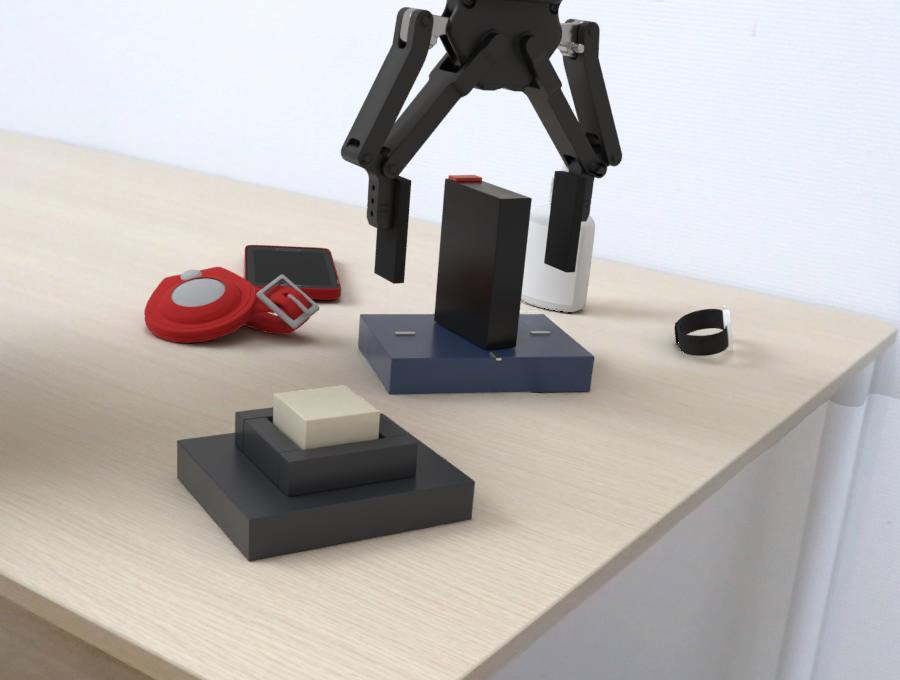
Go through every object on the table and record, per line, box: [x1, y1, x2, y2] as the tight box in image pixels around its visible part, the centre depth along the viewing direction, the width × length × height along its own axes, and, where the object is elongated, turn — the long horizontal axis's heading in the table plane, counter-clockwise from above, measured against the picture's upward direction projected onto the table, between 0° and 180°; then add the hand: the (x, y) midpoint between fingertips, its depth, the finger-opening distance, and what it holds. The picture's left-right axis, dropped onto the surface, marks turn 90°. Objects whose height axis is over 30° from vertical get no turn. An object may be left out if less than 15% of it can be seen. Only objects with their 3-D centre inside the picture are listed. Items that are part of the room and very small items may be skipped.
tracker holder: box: [143, 266, 320, 344], centre depth 86 cm, size 12×4×10 cm
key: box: [272, 384, 381, 450], centre depth 59 cm, size 4×4×2 cm
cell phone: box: [243, 244, 342, 301], centre depth 100 cm, size 8×15×1 cm, turn 9°
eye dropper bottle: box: [521, 162, 596, 313], centre depth 97 cm, size 4×6×12 cm
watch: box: [673, 304, 735, 357], centre depth 90 cm, size 8×5×4 cm, turn 170°
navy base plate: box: [357, 313, 595, 396], centre depth 81 cm, size 14×11×3 cm
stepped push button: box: [176, 406, 476, 563], centre depth 60 cm, size 12×10×4 cm
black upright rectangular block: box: [433, 174, 533, 350], centre depth 79 cm, size 7×2×10 cm, turn 31°
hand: (477, 273), depth 79 cm, fingers open, 13 cm apart
